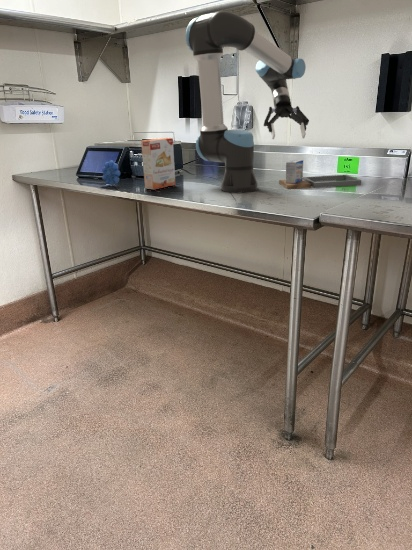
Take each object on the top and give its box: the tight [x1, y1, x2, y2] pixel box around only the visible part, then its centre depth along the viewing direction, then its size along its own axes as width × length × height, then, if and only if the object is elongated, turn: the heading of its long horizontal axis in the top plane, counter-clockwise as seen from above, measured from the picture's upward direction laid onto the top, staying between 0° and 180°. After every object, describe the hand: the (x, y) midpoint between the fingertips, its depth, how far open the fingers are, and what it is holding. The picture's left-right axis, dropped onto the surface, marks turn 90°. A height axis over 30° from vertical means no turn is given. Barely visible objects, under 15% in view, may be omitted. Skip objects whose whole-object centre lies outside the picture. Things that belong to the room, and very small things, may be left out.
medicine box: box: [285, 159, 304, 184], centre depth 173 cm, size 8×4×9 cm, turn 145°
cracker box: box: [140, 137, 176, 189], centre depth 179 cm, size 14×6×21 cm, turn 141°
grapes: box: [101, 159, 121, 185], centre depth 190 cm, size 12×7×12 cm, turn 54°
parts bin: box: [303, 174, 362, 189], centre depth 176 cm, size 20×15×2 cm
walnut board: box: [278, 179, 312, 190], centre depth 175 cm, size 10×13×2 cm
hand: (289, 136), depth 180 cm, fingers open, 13 cm apart
